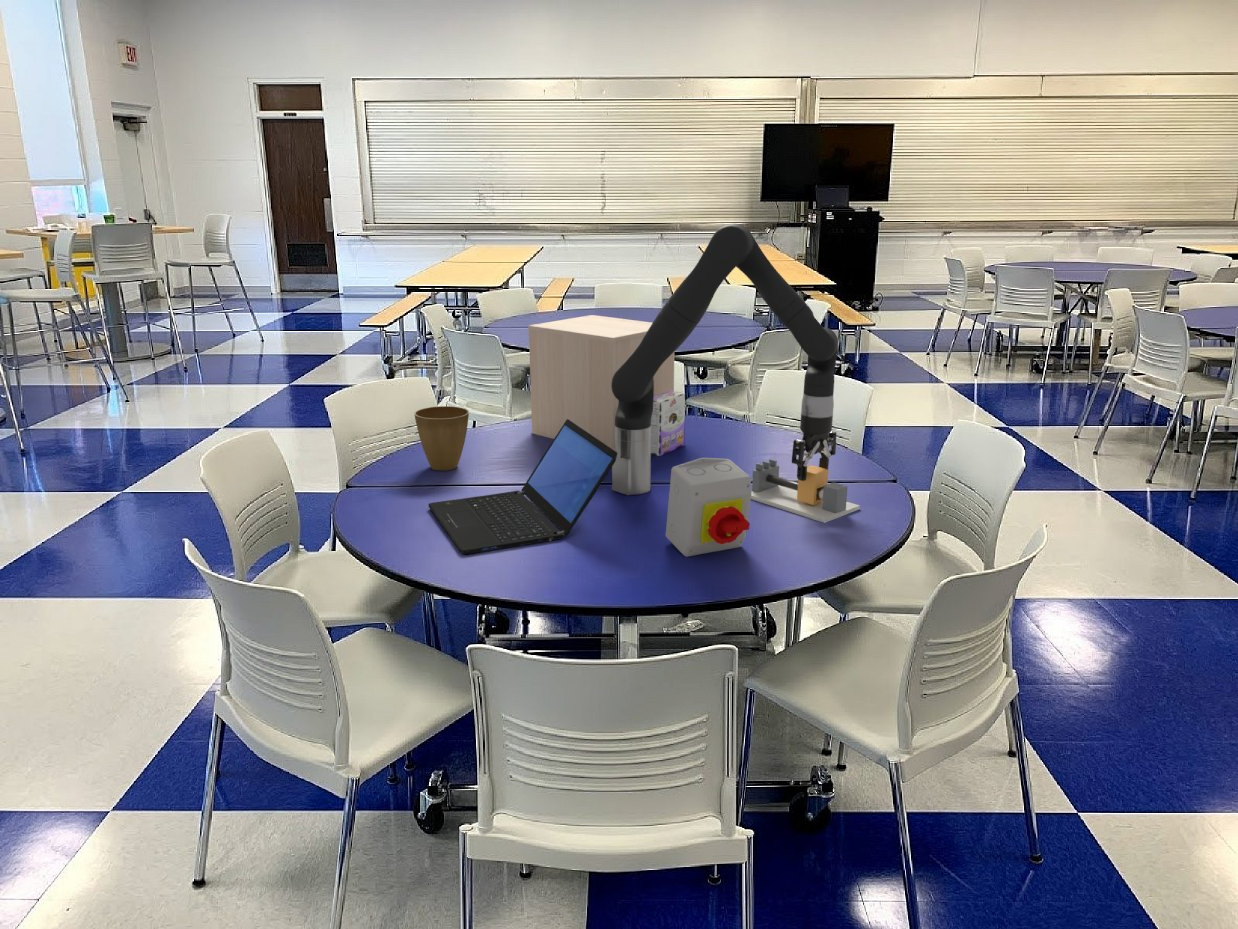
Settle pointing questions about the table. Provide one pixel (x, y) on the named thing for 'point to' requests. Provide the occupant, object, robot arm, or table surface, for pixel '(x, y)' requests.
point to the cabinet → (584, 372)
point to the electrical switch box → (708, 506)
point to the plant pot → (442, 435)
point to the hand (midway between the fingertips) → (812, 476)
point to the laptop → (532, 498)
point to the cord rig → (785, 495)
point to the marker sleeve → (812, 485)
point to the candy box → (667, 422)
